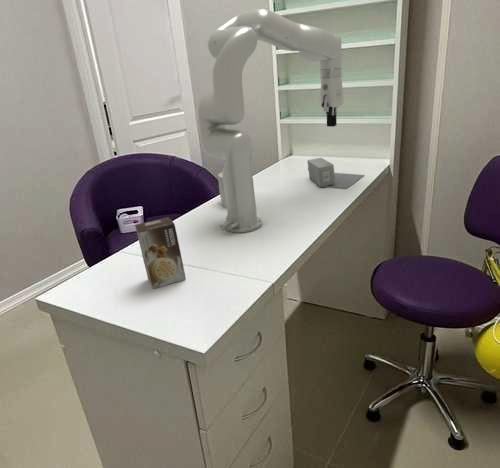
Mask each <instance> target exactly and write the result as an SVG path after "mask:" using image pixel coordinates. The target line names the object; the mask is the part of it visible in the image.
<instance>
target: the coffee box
mask: <svg viewBox="0 0 500 468" xmlns="http://www.w3.org/2000/svg"><path fill="white" fill-rule="evenodd" d="M134 227H135V231H136V234H137V239H138V243H139V248H140V251H141V255H142V256H141V257H142V259H143V263H144V268H145V272H146V276H147V279H148V282H149V285H150V286H151V289H153V288H154V289H157V288H161V287H164V286H168V285H171V284H174V283H177V282H181V281H184V280H186V278H187V277H186V273H185V267H184V264H183V263H184V262H183V258H182V254H181V253H182V252H181V249H180V244H179V239H178V233H177V229H176V224H175V223H174V221H173V219H171V218H170V216H166V217H162V218H158V219H154V220H151V221H146V222H142V223H137V224H134Z"/></svg>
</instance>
